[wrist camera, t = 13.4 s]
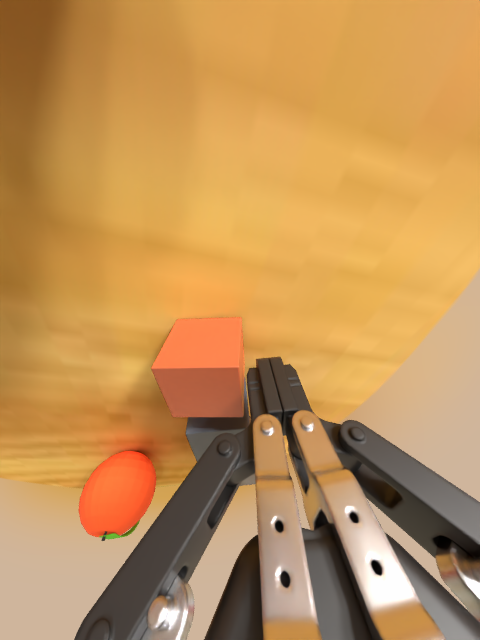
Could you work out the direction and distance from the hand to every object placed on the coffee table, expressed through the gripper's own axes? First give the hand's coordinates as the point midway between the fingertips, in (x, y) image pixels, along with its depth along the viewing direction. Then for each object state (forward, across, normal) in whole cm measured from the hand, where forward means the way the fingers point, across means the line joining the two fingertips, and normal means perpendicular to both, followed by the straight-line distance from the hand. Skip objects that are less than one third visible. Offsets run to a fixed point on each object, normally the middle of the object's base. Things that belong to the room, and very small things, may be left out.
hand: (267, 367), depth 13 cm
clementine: (+3, +15, +17) cm, 23 cm away
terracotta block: (+3, +4, 0) cm, 5 cm away
